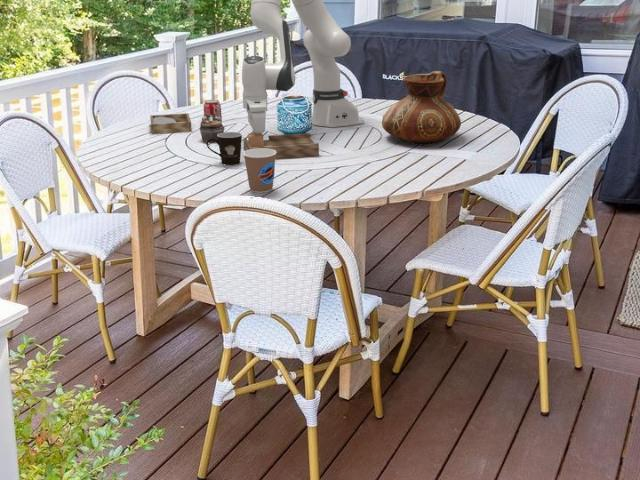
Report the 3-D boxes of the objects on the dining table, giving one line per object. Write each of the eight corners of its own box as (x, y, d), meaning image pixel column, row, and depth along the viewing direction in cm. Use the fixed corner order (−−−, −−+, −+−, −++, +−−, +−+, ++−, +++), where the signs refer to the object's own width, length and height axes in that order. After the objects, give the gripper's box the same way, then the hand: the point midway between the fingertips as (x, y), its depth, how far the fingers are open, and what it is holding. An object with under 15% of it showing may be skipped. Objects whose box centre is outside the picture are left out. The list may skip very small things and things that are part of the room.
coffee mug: (247, 160, 281) (245, 132, 278) (237, 166, 274) (235, 138, 270) (217, 158, 285) (215, 130, 281) (206, 164, 277) (204, 136, 274)
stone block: (175, 129, 338) (151, 125, 335) (176, 118, 337) (152, 114, 334) (177, 136, 328) (152, 133, 325) (178, 125, 326) (154, 121, 323)
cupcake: (195, 142, 308) (193, 116, 305) (209, 136, 316) (208, 111, 313) (215, 144, 304) (214, 118, 300) (229, 139, 312) (228, 113, 308)
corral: (189, 122, 341) (188, 113, 339) (191, 131, 324) (191, 122, 323) (151, 124, 338) (150, 115, 336) (151, 134, 321) (150, 124, 320)
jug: (450, 151, 289) (453, 82, 280) (371, 145, 299) (372, 78, 290) (466, 133, 315) (469, 69, 306) (392, 128, 325) (393, 66, 316)
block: (261, 143, 292) (261, 132, 291) (263, 146, 287) (263, 135, 286) (248, 144, 291) (247, 133, 290) (250, 147, 286) (249, 136, 285)
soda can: (223, 128, 330) (222, 99, 326) (220, 132, 323) (218, 102, 319) (207, 127, 331) (205, 99, 326) (203, 131, 324) (201, 102, 320)
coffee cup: (261, 196, 242) (259, 158, 238) (237, 190, 248) (235, 153, 244) (284, 188, 249) (283, 151, 245) (261, 182, 256) (260, 146, 251)
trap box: (309, 144, 301) (309, 133, 300) (318, 155, 286) (318, 143, 284) (243, 149, 296) (243, 137, 295) (249, 160, 281) (249, 148, 279)
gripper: (243, 97, 297) (244, 134, 302) (250, 108, 279) (251, 146, 284) (259, 96, 299) (261, 133, 303) (267, 107, 280) (269, 145, 285)
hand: (256, 139), depth 293 cm, fingers closed
